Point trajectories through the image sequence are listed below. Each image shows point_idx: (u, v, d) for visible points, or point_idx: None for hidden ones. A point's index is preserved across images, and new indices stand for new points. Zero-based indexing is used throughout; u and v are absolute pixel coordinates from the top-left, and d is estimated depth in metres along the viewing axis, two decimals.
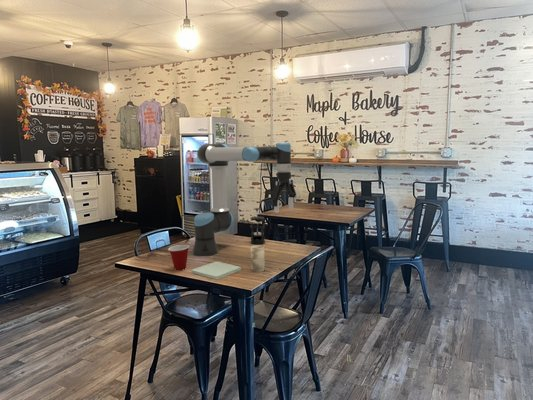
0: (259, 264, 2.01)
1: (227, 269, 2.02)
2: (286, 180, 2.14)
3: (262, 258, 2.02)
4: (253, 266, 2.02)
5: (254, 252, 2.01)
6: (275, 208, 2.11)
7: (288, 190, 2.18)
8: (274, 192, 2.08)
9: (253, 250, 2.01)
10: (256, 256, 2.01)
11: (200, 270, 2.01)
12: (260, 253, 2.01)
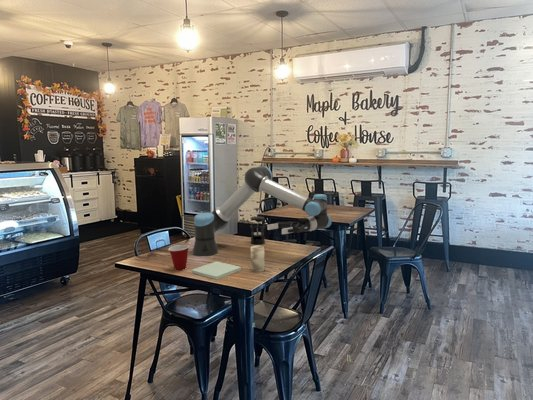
0: (259, 264, 2.01)
1: (227, 269, 2.02)
2: None
3: (262, 258, 2.02)
4: (253, 266, 2.02)
5: (254, 252, 2.01)
6: (285, 230, 2.03)
7: (286, 226, 2.17)
8: (301, 229, 2.06)
9: (253, 250, 2.01)
10: (256, 256, 2.01)
11: (200, 270, 2.01)
12: (260, 253, 2.01)
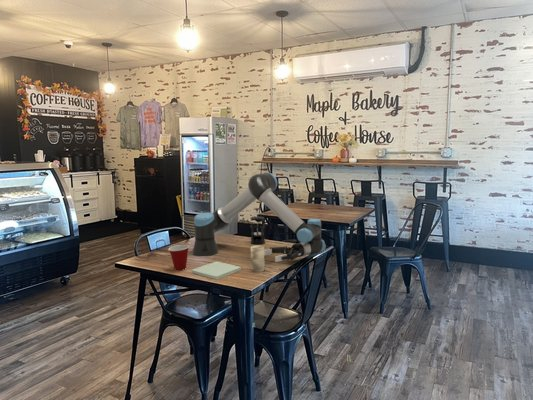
0: (259, 264, 2.01)
1: (227, 269, 2.02)
2: None
3: (262, 258, 2.02)
4: (253, 266, 2.02)
5: (254, 252, 2.01)
6: (279, 257, 2.02)
7: (280, 251, 2.16)
8: (295, 256, 2.06)
9: (253, 250, 2.01)
10: (256, 256, 2.01)
11: (200, 270, 2.01)
12: (260, 253, 2.01)
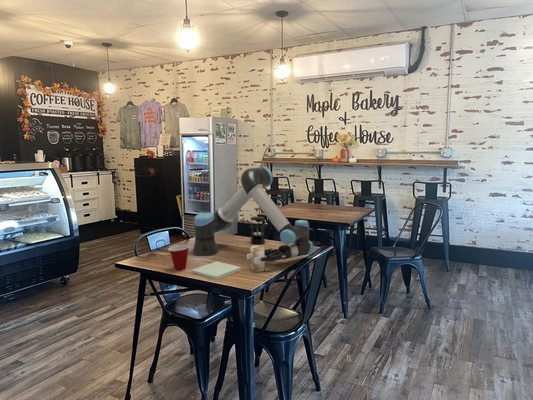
0: (259, 264, 2.01)
1: (227, 269, 2.02)
2: None
3: None
4: (253, 266, 2.02)
5: (254, 252, 2.01)
6: (258, 258, 2.00)
7: (267, 254, 2.10)
8: (276, 258, 2.02)
9: (253, 250, 2.01)
10: (256, 256, 2.01)
11: (200, 270, 2.01)
12: (260, 253, 2.01)
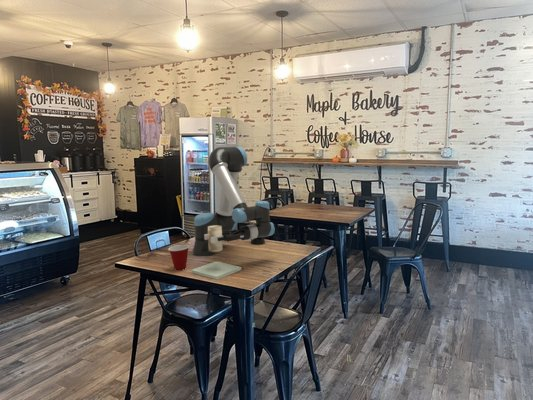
0: (216, 244, 1.98)
1: (227, 269, 2.02)
2: None
3: None
4: (210, 246, 1.99)
5: (211, 232, 1.98)
6: (215, 238, 1.97)
7: (226, 234, 2.08)
8: (233, 238, 1.99)
9: (210, 230, 1.98)
10: (213, 236, 1.98)
11: (200, 270, 2.01)
12: (217, 233, 1.98)
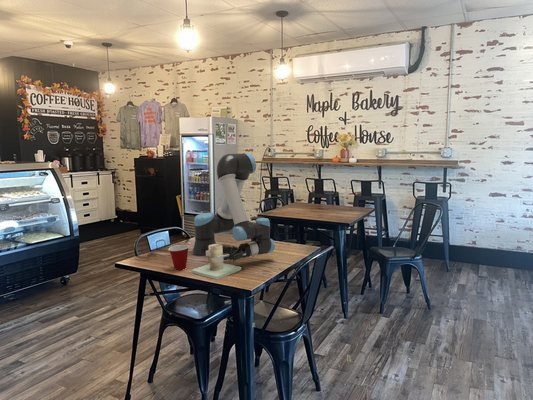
0: (217, 263, 2.00)
1: (227, 269, 2.02)
2: None
3: None
4: (211, 265, 2.01)
5: (211, 251, 1.99)
6: (221, 257, 1.97)
7: (226, 251, 2.10)
8: (238, 256, 2.00)
9: (210, 249, 1.99)
10: (213, 255, 1.99)
11: (200, 270, 2.01)
12: (218, 252, 1.99)
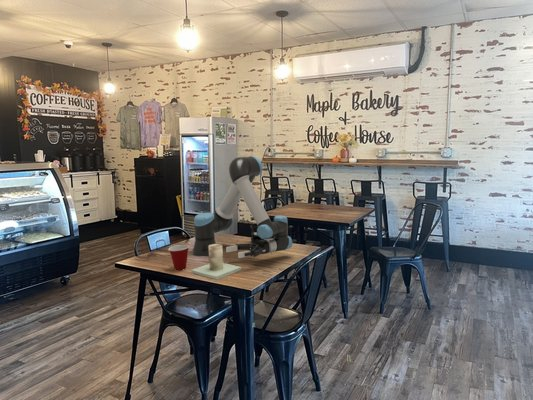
0: (217, 263, 2.00)
1: (227, 269, 2.02)
2: None
3: (220, 257, 2.00)
4: (211, 265, 2.01)
5: (211, 251, 1.99)
6: (242, 253, 2.03)
7: (246, 248, 2.17)
8: (258, 252, 2.06)
9: (210, 249, 1.99)
10: (213, 255, 1.99)
11: (200, 270, 2.01)
12: (218, 252, 1.99)
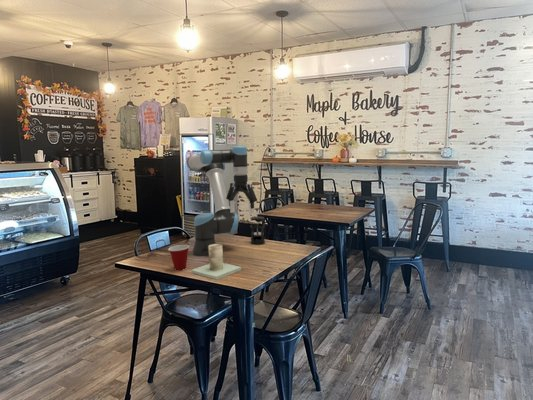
0: (217, 263, 2.00)
1: (227, 269, 2.02)
2: (240, 183, 2.14)
3: (220, 257, 2.00)
4: (211, 265, 2.01)
5: (211, 251, 1.99)
6: None
7: None
8: None
9: (210, 249, 1.99)
10: (213, 255, 1.99)
11: (200, 270, 2.01)
12: (218, 252, 1.99)
